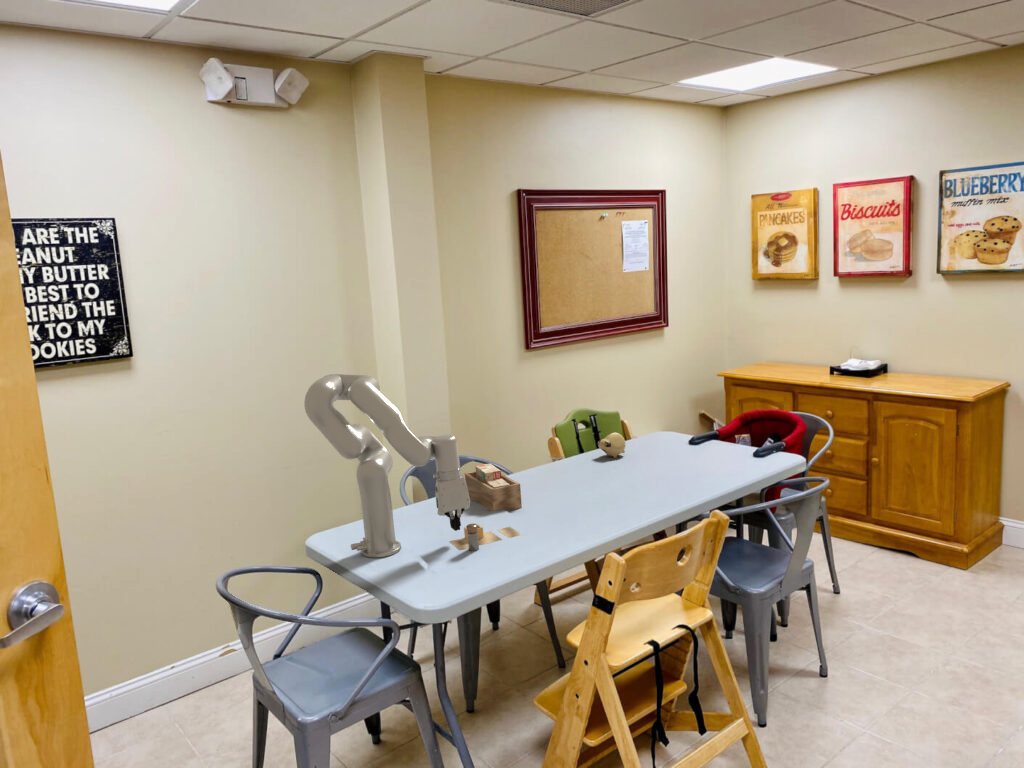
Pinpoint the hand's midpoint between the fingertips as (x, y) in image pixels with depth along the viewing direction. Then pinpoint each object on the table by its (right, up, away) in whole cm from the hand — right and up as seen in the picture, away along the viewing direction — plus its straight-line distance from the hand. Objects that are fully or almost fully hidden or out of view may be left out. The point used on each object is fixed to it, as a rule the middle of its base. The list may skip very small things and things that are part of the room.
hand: (456, 529), depth 243 cm
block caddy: (+11, +2, +43) cm, 44 cm away
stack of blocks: (+11, +2, +42) cm, 44 cm away
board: (+9, -5, +3) cm, 11 cm away
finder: (+6, -4, +4) cm, 8 cm away
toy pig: (+62, +14, +93) cm, 113 cm away
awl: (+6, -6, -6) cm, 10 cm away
